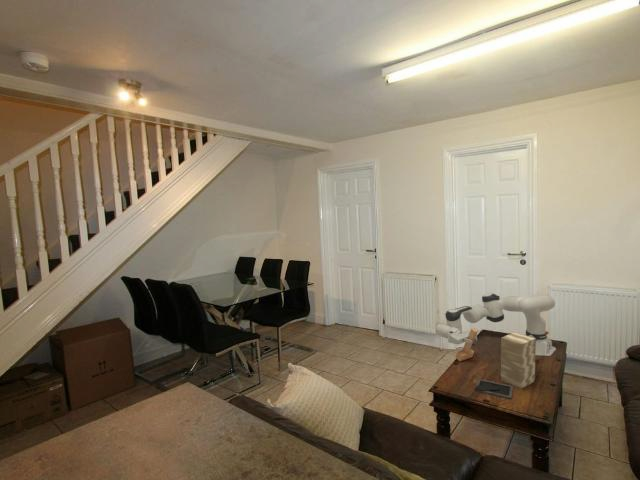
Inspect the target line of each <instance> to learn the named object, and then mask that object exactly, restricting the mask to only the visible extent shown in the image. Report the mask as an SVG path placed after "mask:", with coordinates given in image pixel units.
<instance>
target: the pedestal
mask: <svg viewBox="0 0 640 480" xmlns="http://www.w3.org/2000/svg"><path fill="white" fill-rule="evenodd" d="M535 350H536V338H533V337H530V336H526V334H524V333H520V332H516V331H515V332H512V333H510V334H509V333H508V334H507V335H504V336H501V339H500V381H502V382H505V383H507V384H508V385H511V386H513V387H516V388H518V389H521V390H522V389H524V388H526V387H528V386H529V385H531V384H532V383H534V382H536V381H535V380H536V378H535V358H536V355H535Z"/></svg>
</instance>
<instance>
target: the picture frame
mask: <svg viewBox="0 0 640 480" xmlns="http://www.w3.org/2000/svg"><path fill="white" fill-rule="evenodd" d="M474 391H475V392H477V393H481V394H486V395H489V396H494V397H498V398H503V399H507V400H512V399H513V392H514V386H513V385H511V384H505V383H501V382H496V381H491V380H486V379H482V378H478V379H477V383H476V385H475V387H474Z"/></svg>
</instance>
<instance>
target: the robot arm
mask: <svg viewBox="0 0 640 480" xmlns="http://www.w3.org/2000/svg"><path fill="white" fill-rule="evenodd" d="M481 301H482V304H483V305H482V304H476V305H473V306H468V305H465V306H461V307H456V308H453V309H451V308H450V309H448V310H447V311H446V312H445V313H444V315H445V319H446V324H443V323H438V324H437V325H436V327H435V333H436V334H437V335H438V336H439V337H442V338H445V339H447V343H450V344H454V345H461V344H465V343H466V342H470V343H472V342H473V340H472V339H467V338H468V336H469V333H470V331H471V330H469V329H468V330H464V331H463V324H462V317H461V316H463V318H464V320H465V321H467V322H468V323H471V324H476V323H478V322H479V321H481V320H482V319H484V318H485V319H486V320H487V321H488V320H489V321H490V322H492V323H499V322H502V321H504V320H505V314H504V312H503V310H504V311H507V312H516V313H517V312H520V313H521V312H522V313H523V314H524V316H525V319H526V320H525V321H526V329H525V335H526V336H530V337H533V338H536V350H535V356H545V357H551V356H552V355H553V354H554V353H555V351H557V348H556V347H555V346H554V345H553V341H552V340H551V339H550V338H549V337H548V335H549V331H548V330H546V325H547V323H546V320H545V319H544V318H542V317H541V312H547V311H549V310H552V309H554V308H555V306H556V301H555V299H554V298H553V297H552V296H551V295H549V294H533V295H515V296H512V295H511V296H505V297H502V298H500V295H497V294H495V293H492V292H491V293H485V294H484V295H482V297H481ZM474 342H478V334H477V335H476V337H475V339H474ZM474 342H473V343H474Z"/></svg>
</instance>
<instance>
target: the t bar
mask: <svg viewBox="0 0 640 480" xmlns="http://www.w3.org/2000/svg"><path fill="white" fill-rule="evenodd" d="M469 331H470V333H469V336H468V338H467V339H472V340H473V342H472V343H470V342H464V346H463V347H462V349H461V350H458V351H457V353H456V355H455V356H454V358H455V359H456V360H457V361H458V362H462V361H465V360H468V359H471V358H473V356H474V353H475V351H474V350H473V349H472V346H473V343H474V342H475V341H474V339H475V337H476V335H477V336H478V332H479V330H478V329H476V328H474V327H473V328H471V329H470V330H469Z"/></svg>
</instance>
